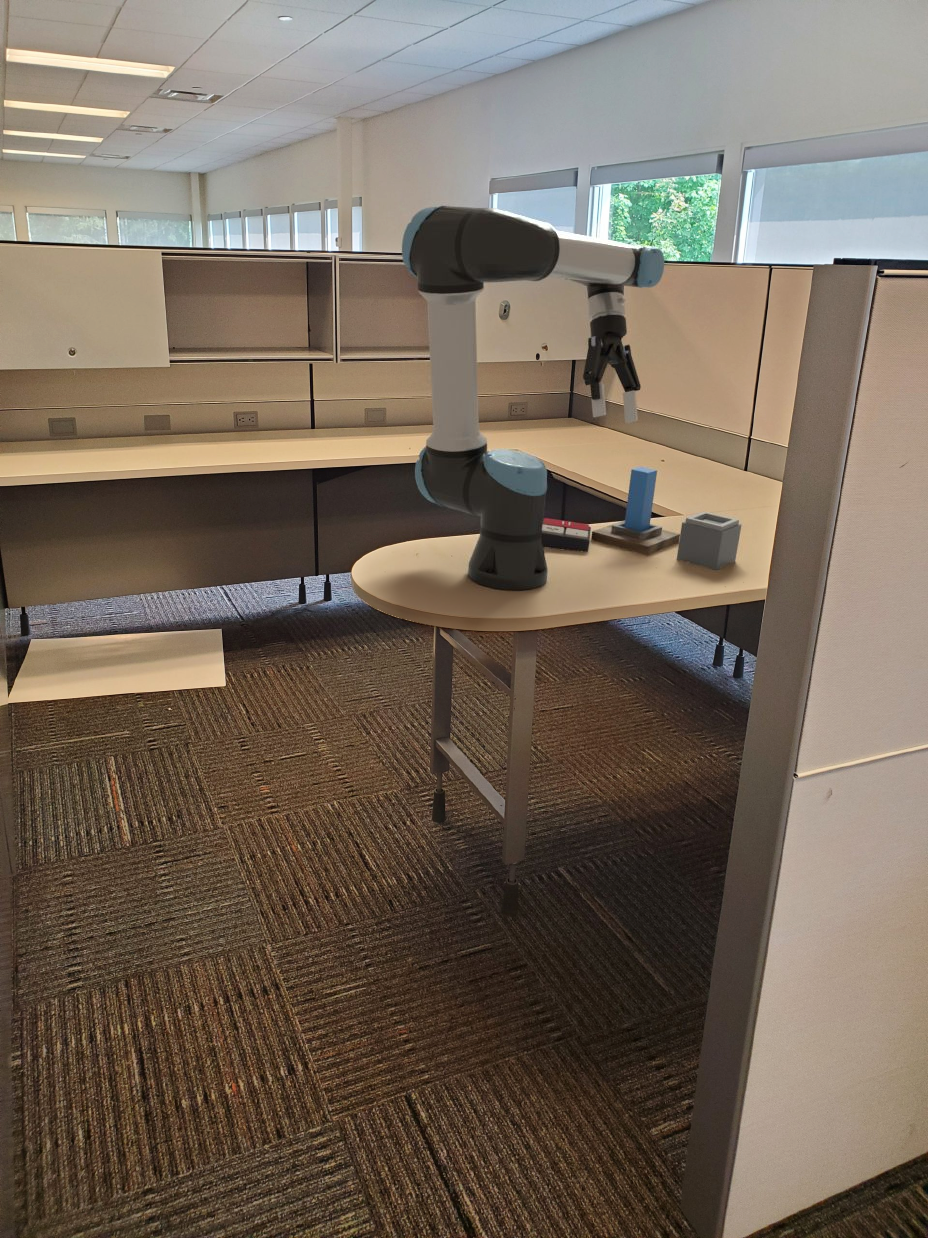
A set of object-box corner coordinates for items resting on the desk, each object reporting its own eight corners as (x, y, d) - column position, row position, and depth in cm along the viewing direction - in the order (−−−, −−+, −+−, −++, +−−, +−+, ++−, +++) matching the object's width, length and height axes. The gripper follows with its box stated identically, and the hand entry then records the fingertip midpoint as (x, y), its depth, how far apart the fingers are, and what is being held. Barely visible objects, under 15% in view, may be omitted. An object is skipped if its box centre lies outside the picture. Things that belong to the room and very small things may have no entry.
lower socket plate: (647, 555, 197) (649, 539, 196) (591, 540, 205) (592, 524, 204) (678, 542, 207) (681, 527, 206) (624, 528, 215) (626, 513, 214)
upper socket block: (716, 570, 191) (723, 527, 187) (676, 559, 196) (682, 517, 193) (735, 561, 197) (742, 519, 194) (696, 550, 202) (702, 510, 199)
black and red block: (590, 537, 196) (519, 526, 197) (586, 556, 198) (516, 545, 199) (591, 523, 206) (524, 513, 208) (588, 541, 208) (521, 531, 209)
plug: (639, 536, 203) (647, 472, 198) (623, 532, 205) (631, 469, 200) (648, 533, 206) (657, 470, 201) (632, 528, 208) (640, 466, 203)
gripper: (592, 302, 186) (601, 409, 186) (651, 323, 205) (659, 420, 206) (560, 312, 190) (569, 416, 191) (621, 332, 210) (628, 427, 210)
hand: (616, 419), depth 198 cm, fingers open, 13 cm apart
